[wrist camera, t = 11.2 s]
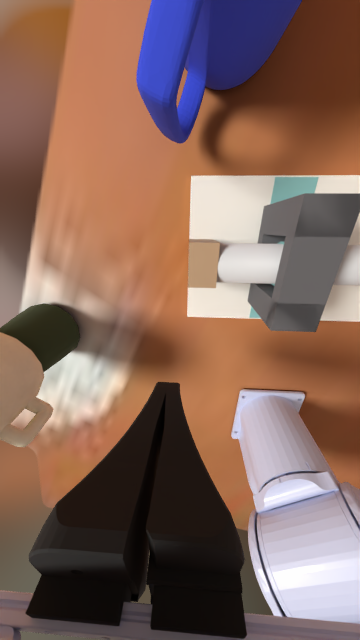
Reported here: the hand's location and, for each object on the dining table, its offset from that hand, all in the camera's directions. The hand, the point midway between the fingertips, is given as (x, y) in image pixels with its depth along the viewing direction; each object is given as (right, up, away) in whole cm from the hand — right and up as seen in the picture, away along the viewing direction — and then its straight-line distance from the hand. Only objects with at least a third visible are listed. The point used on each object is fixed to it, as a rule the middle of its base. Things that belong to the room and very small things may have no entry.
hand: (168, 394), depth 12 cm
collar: (+9, +10, +6) cm, 15 cm away
